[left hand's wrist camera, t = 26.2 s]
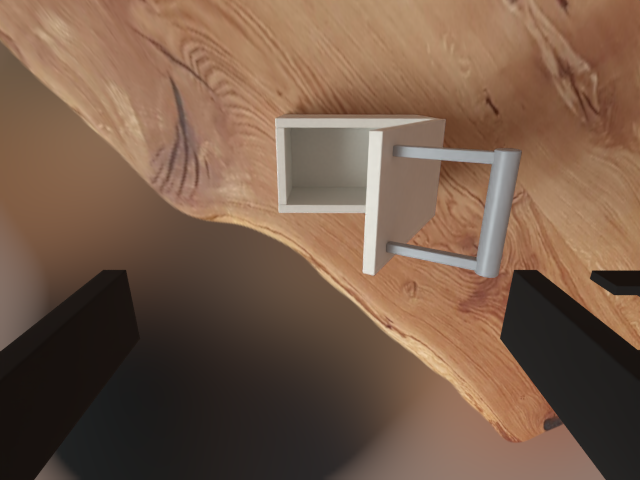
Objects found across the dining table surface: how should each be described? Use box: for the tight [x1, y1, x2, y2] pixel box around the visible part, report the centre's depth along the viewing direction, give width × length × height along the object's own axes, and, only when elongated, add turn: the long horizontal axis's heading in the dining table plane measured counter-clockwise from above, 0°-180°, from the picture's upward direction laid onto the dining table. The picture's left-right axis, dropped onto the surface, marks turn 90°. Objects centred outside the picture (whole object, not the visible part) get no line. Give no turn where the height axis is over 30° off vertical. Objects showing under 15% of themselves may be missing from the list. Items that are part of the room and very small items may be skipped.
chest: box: [275, 114, 439, 213], centre depth 42 cm, size 16×10×9 cm, turn 90°
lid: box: [363, 119, 522, 278], centre depth 29 cm, size 16×10×8 cm
